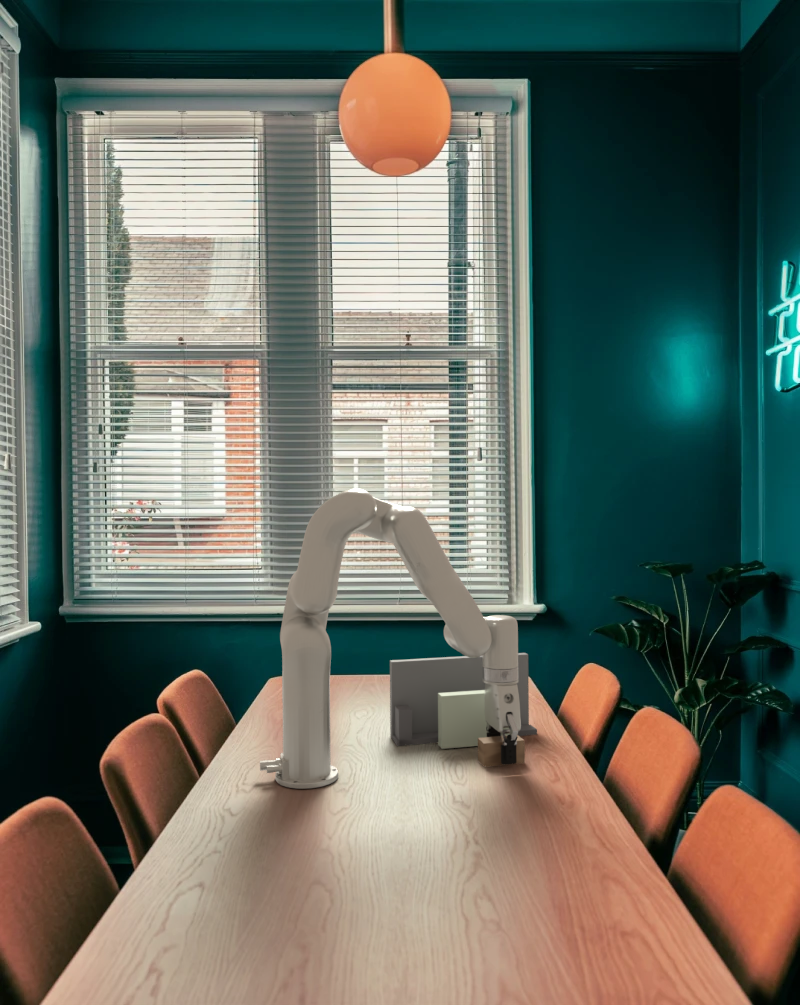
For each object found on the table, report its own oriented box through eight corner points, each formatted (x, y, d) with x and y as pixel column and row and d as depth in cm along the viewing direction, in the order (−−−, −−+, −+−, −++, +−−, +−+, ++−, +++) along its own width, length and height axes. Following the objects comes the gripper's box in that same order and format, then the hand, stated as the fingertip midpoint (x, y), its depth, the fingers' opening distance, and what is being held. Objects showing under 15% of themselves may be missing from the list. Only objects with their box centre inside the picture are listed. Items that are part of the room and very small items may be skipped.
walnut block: (484, 767, 160) (483, 743, 160) (477, 761, 164) (477, 737, 164) (524, 763, 162) (524, 740, 162) (517, 757, 166) (517, 734, 166)
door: (442, 749, 171) (442, 696, 171) (438, 744, 174) (437, 693, 174) (510, 743, 175) (509, 692, 175) (505, 739, 178) (504, 688, 178)
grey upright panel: (397, 745, 175) (396, 666, 175) (390, 736, 181) (389, 660, 181) (537, 734, 182) (536, 658, 182) (525, 726, 189) (525, 652, 189)
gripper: (533, 682, 156) (534, 769, 156) (502, 665, 173) (503, 743, 173) (498, 685, 154) (498, 772, 154) (470, 667, 171) (471, 745, 171)
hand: (501, 756), depth 163 cm, fingers open, 8 cm apart
